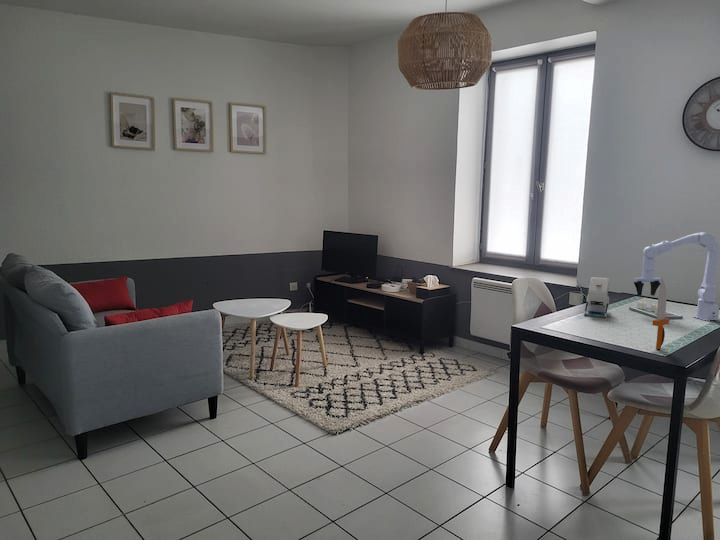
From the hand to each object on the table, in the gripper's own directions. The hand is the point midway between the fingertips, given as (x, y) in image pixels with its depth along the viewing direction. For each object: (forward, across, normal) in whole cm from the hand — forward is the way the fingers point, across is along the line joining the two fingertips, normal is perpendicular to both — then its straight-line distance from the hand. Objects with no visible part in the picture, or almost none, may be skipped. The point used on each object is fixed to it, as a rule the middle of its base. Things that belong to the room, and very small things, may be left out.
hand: (645, 295), depth 290 cm
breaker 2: (+8, -6, 0) cm, 10 cm away
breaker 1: (+8, -3, -7) cm, 11 cm away
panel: (+10, -6, 0) cm, 12 cm away
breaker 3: (+8, -3, +7) cm, 12 cm away
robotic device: (+10, +25, -3) cm, 27 cm away
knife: (+10, +39, +62) cm, 73 cm away
